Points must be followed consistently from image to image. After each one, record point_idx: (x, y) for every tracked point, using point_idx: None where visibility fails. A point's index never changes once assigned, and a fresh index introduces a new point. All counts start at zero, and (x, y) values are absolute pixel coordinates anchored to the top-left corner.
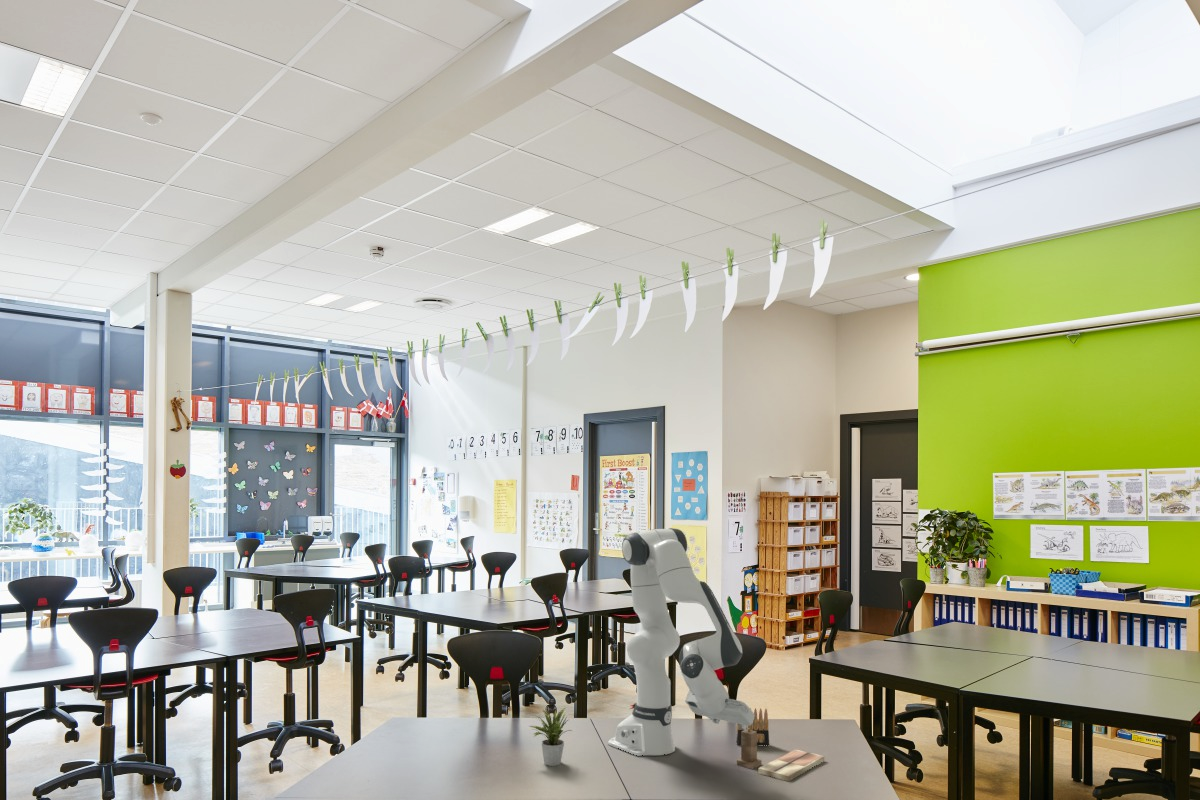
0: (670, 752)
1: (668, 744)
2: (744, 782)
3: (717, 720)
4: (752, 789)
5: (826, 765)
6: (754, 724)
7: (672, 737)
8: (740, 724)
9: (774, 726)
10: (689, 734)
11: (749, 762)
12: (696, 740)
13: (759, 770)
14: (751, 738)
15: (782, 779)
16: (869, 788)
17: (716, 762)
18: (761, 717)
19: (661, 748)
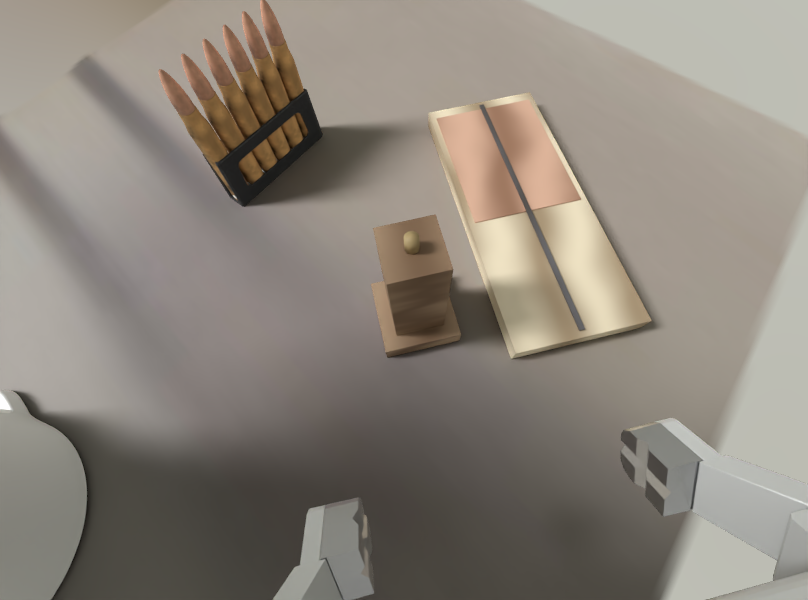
0: (82, 514)
1: (35, 526)
2: (573, 498)
3: (367, 552)
4: (668, 541)
5: (559, 124)
6: (257, 101)
7: (7, 455)
8: (674, 496)
9: (218, 23)
10: (31, 256)
11: (439, 330)
12: (90, 282)
13: (519, 354)
14: (450, 278)
15: (616, 333)
16: (795, 164)
17: (312, 407)
18: (266, 55)
19: (27, 584)
